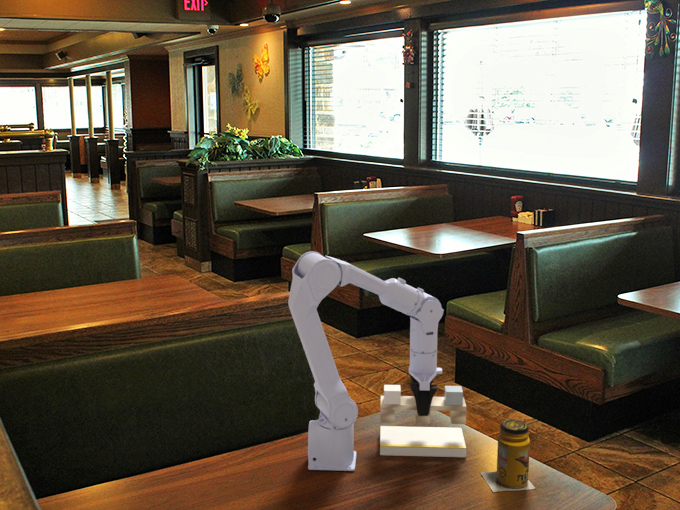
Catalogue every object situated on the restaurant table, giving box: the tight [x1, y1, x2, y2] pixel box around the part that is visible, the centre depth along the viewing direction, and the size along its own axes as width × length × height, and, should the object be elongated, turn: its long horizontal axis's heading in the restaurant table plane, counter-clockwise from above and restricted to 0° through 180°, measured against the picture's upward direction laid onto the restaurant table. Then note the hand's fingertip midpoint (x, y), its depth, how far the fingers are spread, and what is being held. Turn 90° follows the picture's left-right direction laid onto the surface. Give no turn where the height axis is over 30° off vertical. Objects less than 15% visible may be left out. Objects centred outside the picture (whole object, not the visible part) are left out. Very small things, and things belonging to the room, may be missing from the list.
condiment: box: [480, 419, 536, 493], centre depth 136 cm, size 7×8×12 cm
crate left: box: [383, 384, 402, 404], centre depth 149 cm, size 4×4×3 cm
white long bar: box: [379, 395, 467, 425], centre depth 150 cm, size 18×5×4 cm, turn 86°
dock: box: [379, 425, 467, 458], centre depth 152 cm, size 18×10×2 cm, turn 86°
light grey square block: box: [444, 385, 464, 406], centre depth 149 cm, size 4×4×3 cm
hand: (422, 409), depth 150 cm, fingers closed on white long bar, 5 cm apart
